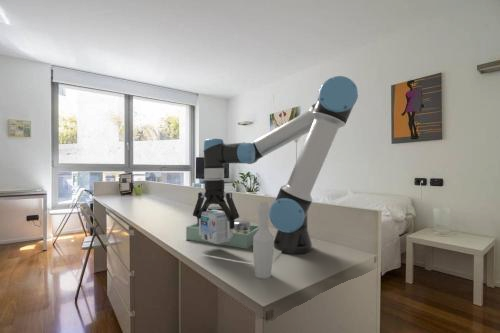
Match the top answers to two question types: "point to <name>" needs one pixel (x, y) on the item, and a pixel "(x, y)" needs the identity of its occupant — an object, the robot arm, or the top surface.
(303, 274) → the top surface
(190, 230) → the box
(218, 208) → the coffee mug
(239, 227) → the tin can
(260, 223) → the low poly bottle
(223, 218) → the light bulb box
